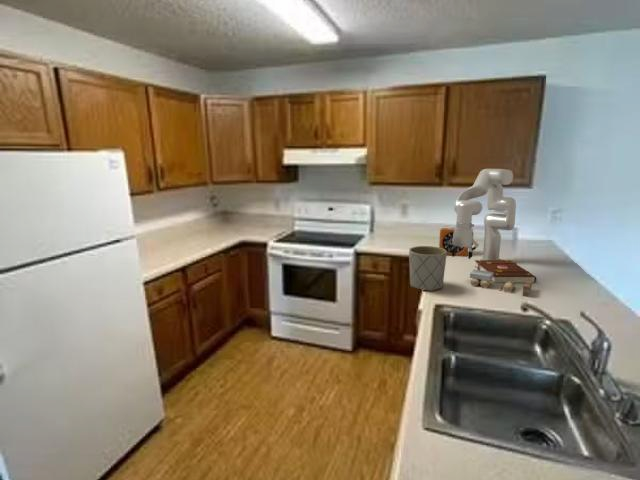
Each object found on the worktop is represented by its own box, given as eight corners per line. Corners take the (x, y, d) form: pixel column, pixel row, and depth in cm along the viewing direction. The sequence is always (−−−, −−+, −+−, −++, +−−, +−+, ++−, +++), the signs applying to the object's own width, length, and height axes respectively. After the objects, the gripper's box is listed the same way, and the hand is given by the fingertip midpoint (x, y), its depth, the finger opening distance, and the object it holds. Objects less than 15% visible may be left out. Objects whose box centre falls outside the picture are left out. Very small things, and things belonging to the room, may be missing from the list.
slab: (473, 273, 209) (474, 269, 209) (493, 276, 203) (493, 272, 203) (469, 277, 203) (470, 273, 202) (489, 281, 197) (490, 276, 197)
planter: (417, 278, 217) (418, 244, 213) (450, 284, 206) (452, 249, 201) (401, 287, 203) (402, 251, 199) (436, 295, 191) (437, 257, 187)
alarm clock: (439, 255, 262) (440, 226, 258) (438, 252, 271) (440, 224, 266) (467, 256, 258) (469, 227, 253) (466, 253, 266) (468, 224, 262)
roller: (504, 285, 201) (507, 279, 199) (512, 289, 199) (515, 282, 197) (501, 290, 194) (504, 283, 193) (509, 293, 192) (512, 286, 191)
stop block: (526, 288, 197) (526, 279, 196) (531, 289, 196) (532, 280, 195) (522, 295, 188) (523, 286, 186) (527, 296, 186) (528, 287, 185)
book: (493, 283, 207) (493, 275, 206) (473, 266, 237) (474, 259, 236) (536, 283, 205) (537, 274, 204) (511, 266, 236) (511, 258, 235)
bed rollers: (474, 281, 210) (474, 274, 209) (515, 287, 198) (516, 280, 198) (470, 285, 203) (470, 278, 202) (512, 293, 191) (513, 285, 190)
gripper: (482, 226, 201) (480, 257, 205) (449, 223, 211) (447, 253, 215) (479, 228, 195) (476, 261, 199) (445, 225, 205) (443, 256, 209)
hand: (461, 257), depth 207 cm, fingers open, 7 cm apart
